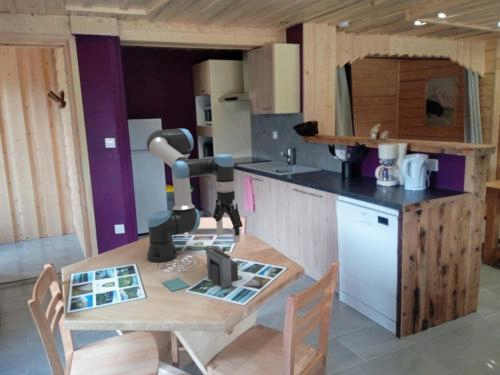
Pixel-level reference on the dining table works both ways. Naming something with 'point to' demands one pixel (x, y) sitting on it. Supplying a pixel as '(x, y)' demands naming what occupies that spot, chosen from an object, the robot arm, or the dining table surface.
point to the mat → (175, 284)
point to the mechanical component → (214, 247)
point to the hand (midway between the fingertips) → (228, 238)
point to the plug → (216, 272)
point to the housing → (224, 263)
